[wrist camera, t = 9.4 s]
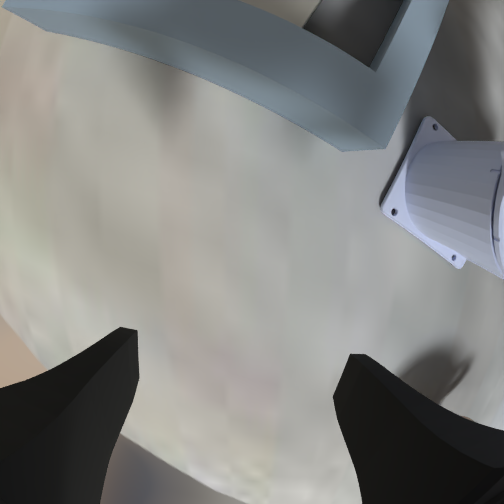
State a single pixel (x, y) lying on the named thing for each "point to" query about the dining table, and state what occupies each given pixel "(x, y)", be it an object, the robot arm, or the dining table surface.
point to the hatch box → (264, 55)
